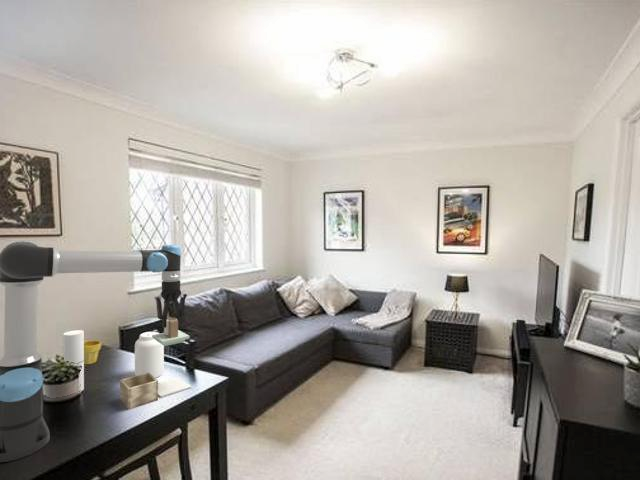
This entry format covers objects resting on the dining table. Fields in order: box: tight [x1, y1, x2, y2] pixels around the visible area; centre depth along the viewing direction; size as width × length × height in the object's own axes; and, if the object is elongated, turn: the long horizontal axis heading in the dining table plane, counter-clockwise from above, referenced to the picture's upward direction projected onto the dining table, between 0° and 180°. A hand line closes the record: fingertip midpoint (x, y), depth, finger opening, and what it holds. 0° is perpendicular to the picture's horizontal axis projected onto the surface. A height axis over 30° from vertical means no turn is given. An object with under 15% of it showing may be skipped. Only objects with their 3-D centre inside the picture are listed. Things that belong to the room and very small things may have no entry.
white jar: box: [134, 331, 165, 379], centre depth 165 cm, size 12×12×20 cm
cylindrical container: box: [62, 329, 85, 393], centre depth 148 cm, size 7×7×25 cm
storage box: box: [119, 373, 159, 410], centre depth 142 cm, size 11×11×8 cm
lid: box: [152, 316, 191, 347], centre depth 152 cm, size 12×12×10 cm
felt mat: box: [158, 376, 192, 399], centre depth 153 cm, size 13×13×1 cm
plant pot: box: [84, 339, 102, 365], centre depth 179 cm, size 10×10×10 cm
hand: (170, 333), depth 152 cm, fingers closed on lid, 3 cm apart
